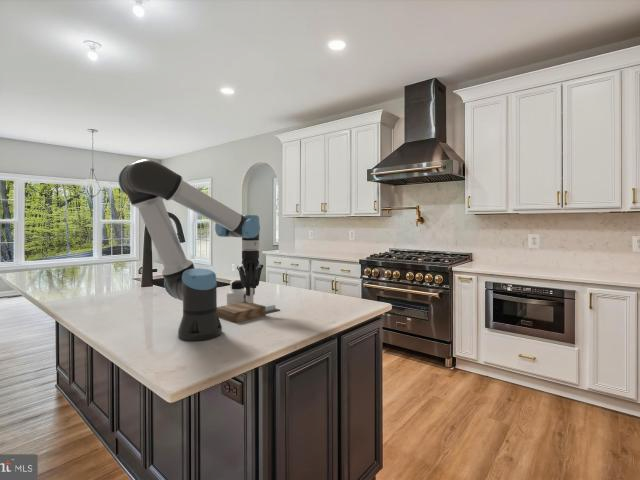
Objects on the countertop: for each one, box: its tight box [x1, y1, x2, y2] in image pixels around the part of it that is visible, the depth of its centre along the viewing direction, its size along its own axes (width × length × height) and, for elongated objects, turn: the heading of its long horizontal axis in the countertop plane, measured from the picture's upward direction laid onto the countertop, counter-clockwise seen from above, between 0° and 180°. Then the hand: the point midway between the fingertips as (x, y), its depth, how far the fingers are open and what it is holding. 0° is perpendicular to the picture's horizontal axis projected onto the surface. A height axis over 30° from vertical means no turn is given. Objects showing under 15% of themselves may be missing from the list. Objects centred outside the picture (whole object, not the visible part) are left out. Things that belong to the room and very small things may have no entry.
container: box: [226, 279, 247, 305], centre depth 171 cm, size 8×8×13 cm
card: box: [259, 302, 276, 311], centre depth 166 cm, size 9×6×2 cm, turn 137°
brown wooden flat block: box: [217, 301, 266, 324], centre depth 157 cm, size 16×14×4 cm
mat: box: [266, 307, 281, 314], centre depth 166 cm, size 10×10×1 cm
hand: (250, 302), depth 160 cm, fingers closed
